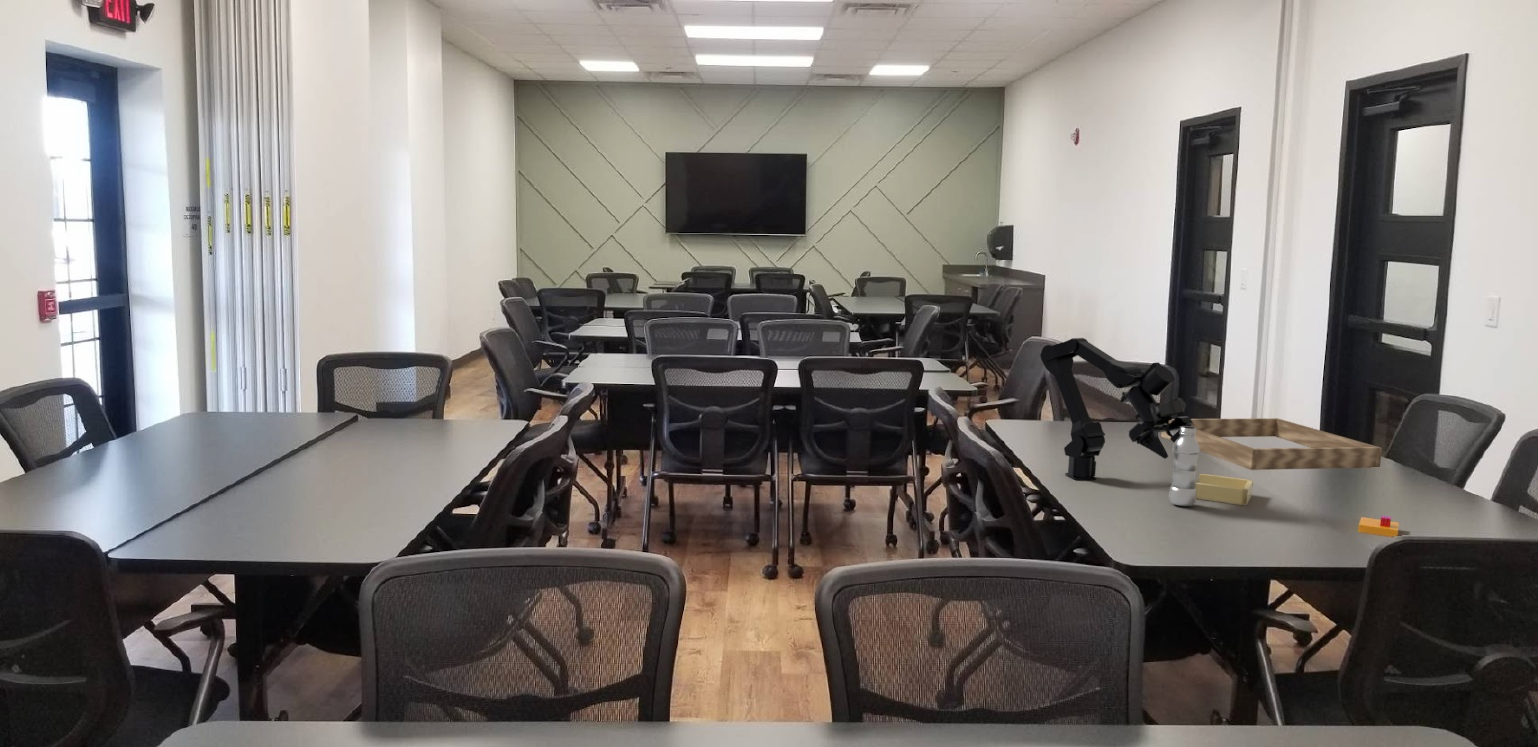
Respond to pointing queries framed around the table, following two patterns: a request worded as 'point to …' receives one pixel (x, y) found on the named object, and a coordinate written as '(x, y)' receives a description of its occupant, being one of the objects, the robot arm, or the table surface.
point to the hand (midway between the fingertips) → (1178, 456)
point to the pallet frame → (1320, 455)
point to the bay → (1224, 489)
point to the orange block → (1379, 526)
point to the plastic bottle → (1184, 468)
